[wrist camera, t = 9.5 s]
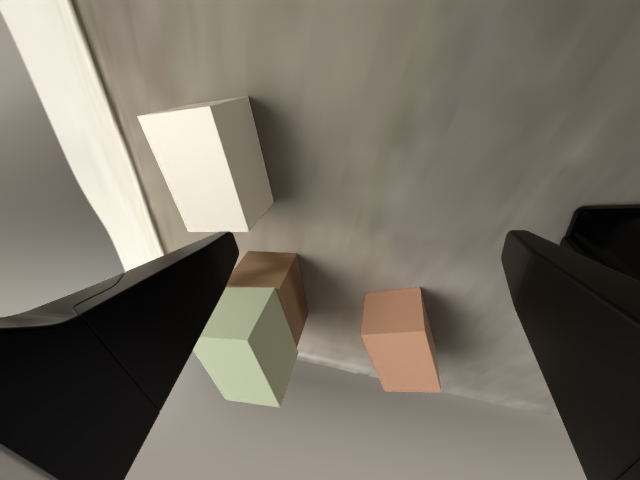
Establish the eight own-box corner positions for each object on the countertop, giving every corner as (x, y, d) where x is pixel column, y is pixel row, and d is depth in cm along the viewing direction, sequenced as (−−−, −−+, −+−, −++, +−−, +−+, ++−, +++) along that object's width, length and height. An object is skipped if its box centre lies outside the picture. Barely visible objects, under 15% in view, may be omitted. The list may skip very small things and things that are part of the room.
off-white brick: (249, 95, 19) (209, 106, 15) (274, 201, 23) (248, 231, 19) (188, 104, 20) (137, 116, 16) (222, 203, 25) (188, 231, 21)
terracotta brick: (419, 285, 25) (425, 330, 21) (434, 344, 28) (441, 392, 24) (365, 292, 27) (360, 335, 23) (386, 346, 30) (384, 391, 26)
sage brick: (274, 287, 22) (247, 340, 18) (298, 352, 26) (280, 407, 22) (220, 287, 23) (183, 335, 19) (251, 348, 27) (225, 399, 23)
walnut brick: (297, 252, 26) (279, 288, 22) (308, 312, 30) (295, 352, 26) (248, 250, 27) (223, 284, 23) (266, 308, 31) (246, 346, 27)
